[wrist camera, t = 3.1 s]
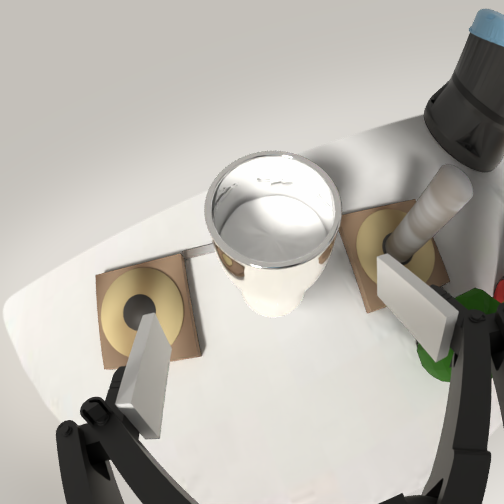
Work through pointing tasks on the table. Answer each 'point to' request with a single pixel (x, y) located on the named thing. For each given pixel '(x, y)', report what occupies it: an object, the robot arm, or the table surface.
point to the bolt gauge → (356, 244)
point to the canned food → (499, 291)
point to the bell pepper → (441, 368)
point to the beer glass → (273, 227)
